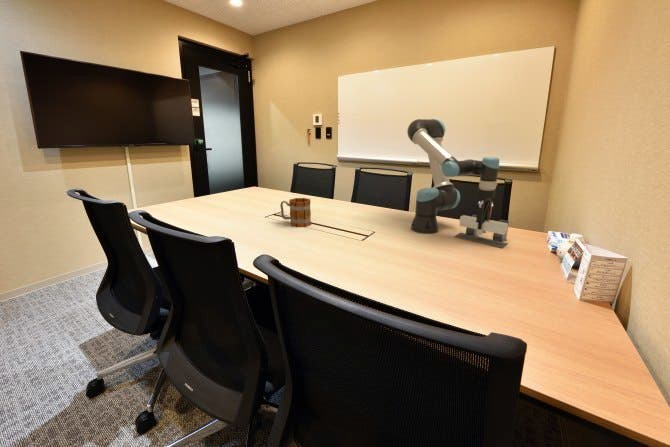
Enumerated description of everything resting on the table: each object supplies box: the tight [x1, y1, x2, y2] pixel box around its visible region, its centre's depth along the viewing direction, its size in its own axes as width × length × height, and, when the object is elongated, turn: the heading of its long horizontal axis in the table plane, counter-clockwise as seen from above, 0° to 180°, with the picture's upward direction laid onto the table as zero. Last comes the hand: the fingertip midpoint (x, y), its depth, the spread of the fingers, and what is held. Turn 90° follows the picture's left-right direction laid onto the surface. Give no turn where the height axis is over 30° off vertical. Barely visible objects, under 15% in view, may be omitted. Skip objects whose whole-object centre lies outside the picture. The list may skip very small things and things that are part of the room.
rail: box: [458, 214, 509, 235], centre depth 159 cm, size 22×4×5 cm, turn 45°
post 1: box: [465, 214, 477, 236], centre depth 170 cm, size 4×7×10 cm, turn 135°
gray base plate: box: [454, 232, 508, 249], centre depth 162 cm, size 24×8×1 cm, turn 45°
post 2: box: [492, 219, 510, 242], centre depth 161 cm, size 4×7×10 cm, turn 135°
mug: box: [280, 197, 312, 228], centre depth 189 cm, size 20×14×15 cm
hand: (481, 233), depth 161 cm, fingers closed on rail, 4 cm apart
